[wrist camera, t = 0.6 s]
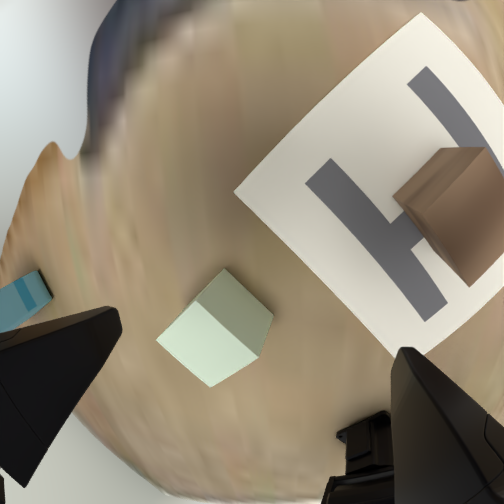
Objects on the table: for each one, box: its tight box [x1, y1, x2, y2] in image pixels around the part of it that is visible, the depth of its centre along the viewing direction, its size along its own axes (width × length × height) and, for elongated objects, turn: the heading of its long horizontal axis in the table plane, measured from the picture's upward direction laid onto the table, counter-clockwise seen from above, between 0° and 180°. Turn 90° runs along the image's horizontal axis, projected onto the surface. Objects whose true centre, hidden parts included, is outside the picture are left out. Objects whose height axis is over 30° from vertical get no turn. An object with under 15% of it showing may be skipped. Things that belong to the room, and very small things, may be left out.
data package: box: [0, 271, 52, 333], centre depth 26 cm, size 12×4×12 cm, turn 120°
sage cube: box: [156, 268, 274, 387], centre depth 21 cm, size 6×6×6 cm
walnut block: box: [392, 147, 504, 287], centre depth 13 cm, size 5×5×6 cm
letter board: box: [233, 13, 504, 358], centre depth 16 cm, size 20×20×1 cm
